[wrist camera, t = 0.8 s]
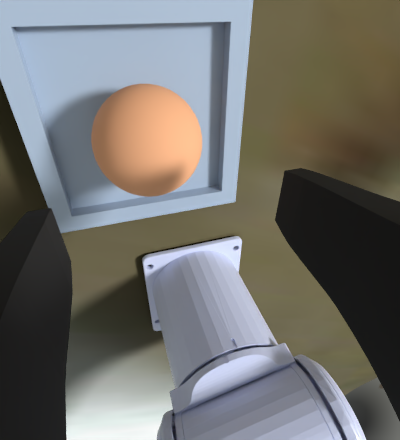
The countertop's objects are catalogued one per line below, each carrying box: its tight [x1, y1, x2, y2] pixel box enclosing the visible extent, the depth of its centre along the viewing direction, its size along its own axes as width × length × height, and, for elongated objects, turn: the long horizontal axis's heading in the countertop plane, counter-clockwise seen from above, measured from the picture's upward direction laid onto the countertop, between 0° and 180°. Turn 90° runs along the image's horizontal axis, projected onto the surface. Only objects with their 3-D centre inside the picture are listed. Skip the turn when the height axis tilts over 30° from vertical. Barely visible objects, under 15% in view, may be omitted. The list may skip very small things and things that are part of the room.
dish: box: [0, 0, 253, 233], centre depth 16 cm, size 11×11×2 cm
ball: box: [91, 84, 202, 197], centre depth 14 cm, size 5×5×5 cm
